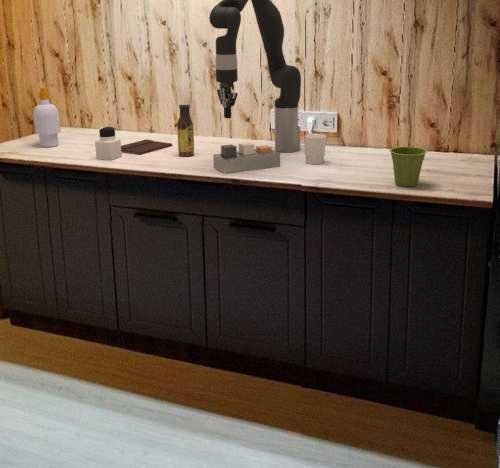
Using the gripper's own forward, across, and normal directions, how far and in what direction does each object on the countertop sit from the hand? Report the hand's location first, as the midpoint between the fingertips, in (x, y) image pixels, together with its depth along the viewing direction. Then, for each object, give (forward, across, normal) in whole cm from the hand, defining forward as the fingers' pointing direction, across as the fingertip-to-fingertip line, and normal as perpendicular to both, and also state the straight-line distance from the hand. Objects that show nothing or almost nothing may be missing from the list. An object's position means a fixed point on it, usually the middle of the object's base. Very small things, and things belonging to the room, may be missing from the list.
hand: (227, 117), depth 257 cm
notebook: (+19, +51, +16) cm, 57 cm away
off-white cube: (+14, 0, -7) cm, 15 cm away
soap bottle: (+19, +77, +49) cm, 93 cm away
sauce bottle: (+19, +30, +5) cm, 36 cm away
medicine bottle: (+19, +41, +33) cm, 56 cm away
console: (+18, 0, -7) cm, 20 cm away
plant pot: (+18, -48, -42) cm, 67 cm away
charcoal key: (+14, 0, 0) cm, 14 cm away
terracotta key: (+15, 0, -14) cm, 21 cm away
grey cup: (+19, -6, -32) cm, 38 cm away
